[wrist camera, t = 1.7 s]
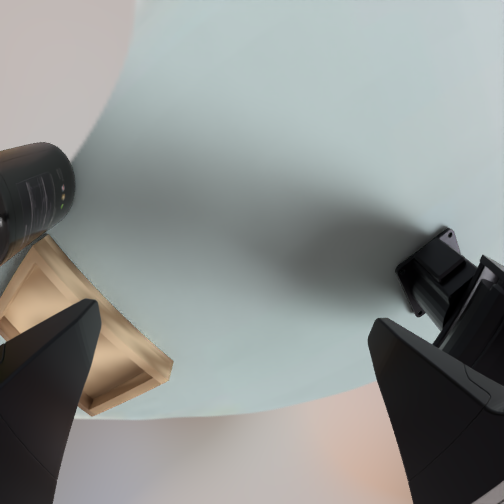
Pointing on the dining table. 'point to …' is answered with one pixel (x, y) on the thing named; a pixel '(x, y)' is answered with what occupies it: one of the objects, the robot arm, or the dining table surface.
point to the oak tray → (110, 338)
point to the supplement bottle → (32, 194)
